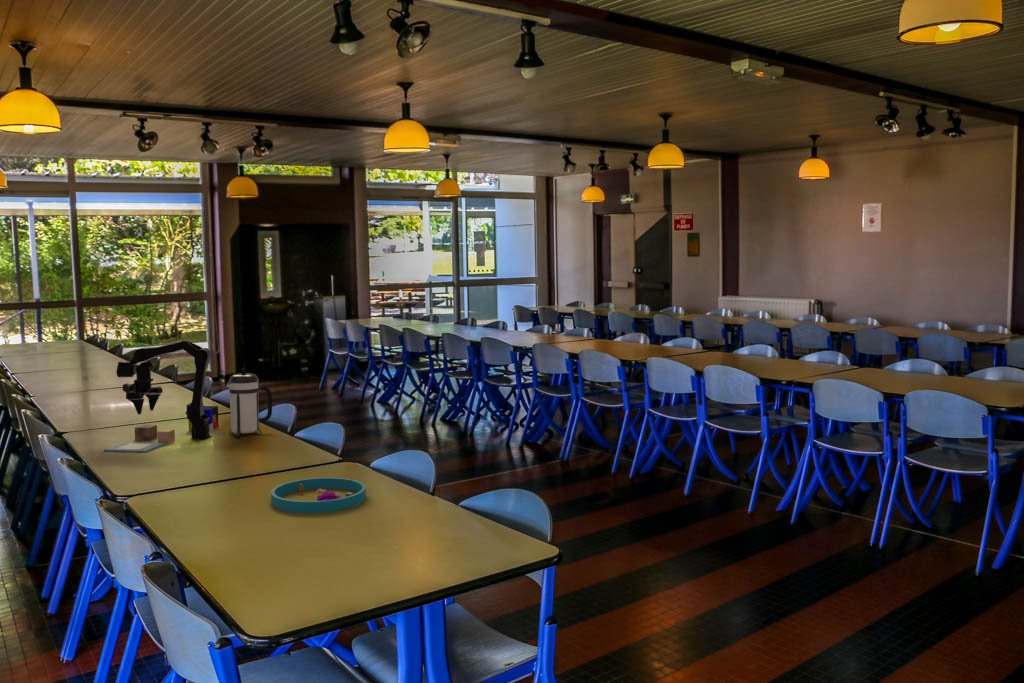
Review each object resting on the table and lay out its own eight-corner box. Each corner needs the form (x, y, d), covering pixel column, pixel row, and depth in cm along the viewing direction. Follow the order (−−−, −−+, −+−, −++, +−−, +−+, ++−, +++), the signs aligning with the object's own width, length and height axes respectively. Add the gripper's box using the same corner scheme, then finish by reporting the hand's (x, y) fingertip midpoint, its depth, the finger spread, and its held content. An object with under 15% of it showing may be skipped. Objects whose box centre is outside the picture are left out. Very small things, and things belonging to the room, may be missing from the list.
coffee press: (254, 438, 364) (252, 370, 361) (221, 436, 367) (219, 369, 364) (273, 430, 381) (271, 366, 378) (241, 429, 384) (239, 365, 381)
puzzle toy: (210, 431, 380) (209, 409, 379) (188, 431, 380) (188, 409, 379) (218, 427, 390) (218, 406, 389) (197, 426, 390) (196, 405, 389)
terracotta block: (174, 440, 358) (174, 429, 358) (168, 443, 354) (168, 431, 353) (164, 440, 359) (163, 429, 359) (157, 443, 354) (157, 431, 354)
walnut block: (157, 438, 363) (156, 425, 363) (149, 441, 357) (148, 427, 356) (143, 438, 364) (143, 424, 364) (135, 441, 358) (134, 427, 357)
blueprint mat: (166, 444, 351) (166, 442, 351) (145, 452, 335) (145, 450, 335) (127, 443, 353) (126, 441, 353) (104, 451, 337) (104, 449, 337)
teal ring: (291, 520, 249) (291, 501, 248) (257, 497, 273) (257, 480, 272) (381, 503, 266) (381, 485, 266) (342, 484, 290) (342, 467, 290)
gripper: (139, 373, 369) (140, 408, 371) (113, 379, 351) (115, 416, 352) (162, 374, 368) (164, 408, 369) (137, 379, 349) (139, 416, 351)
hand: (145, 412), depth 360 cm, fingers open, 9 cm apart
